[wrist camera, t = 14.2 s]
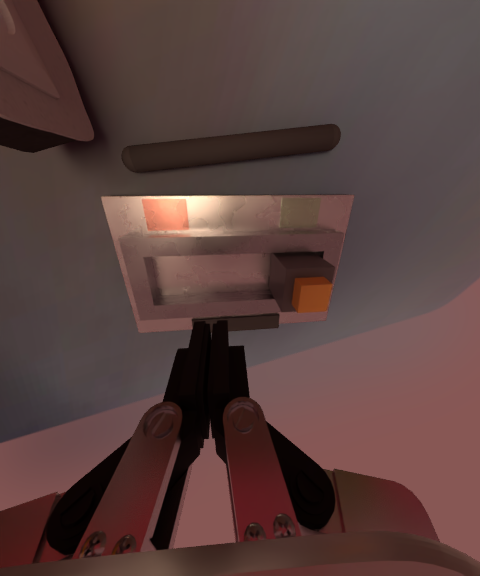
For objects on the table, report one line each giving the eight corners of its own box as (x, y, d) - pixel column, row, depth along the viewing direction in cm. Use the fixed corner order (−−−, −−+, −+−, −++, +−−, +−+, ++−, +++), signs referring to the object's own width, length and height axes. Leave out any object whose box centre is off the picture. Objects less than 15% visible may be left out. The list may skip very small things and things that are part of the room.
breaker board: (345, 194, 20) (369, 195, 17) (320, 313, 26) (334, 330, 23) (109, 195, 18) (87, 197, 15) (143, 324, 24) (132, 345, 21)
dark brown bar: (275, 307, 25) (279, 315, 23) (274, 319, 26) (278, 327, 24) (193, 311, 24) (191, 320, 23) (194, 324, 25) (193, 333, 23)
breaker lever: (310, 250, 20) (345, 273, 15) (304, 285, 22) (334, 318, 17) (271, 251, 20) (292, 276, 15) (268, 287, 22) (286, 322, 16)
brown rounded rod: (334, 126, 17) (346, 120, 16) (332, 151, 18) (343, 147, 17) (123, 149, 17) (113, 145, 15) (131, 174, 17) (122, 173, 16)
